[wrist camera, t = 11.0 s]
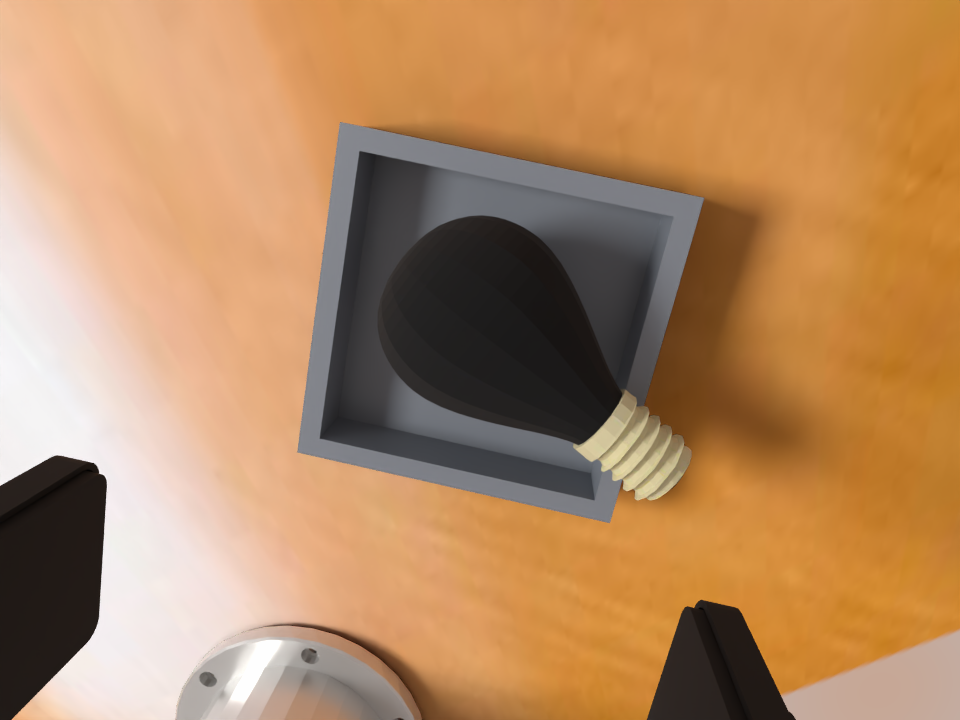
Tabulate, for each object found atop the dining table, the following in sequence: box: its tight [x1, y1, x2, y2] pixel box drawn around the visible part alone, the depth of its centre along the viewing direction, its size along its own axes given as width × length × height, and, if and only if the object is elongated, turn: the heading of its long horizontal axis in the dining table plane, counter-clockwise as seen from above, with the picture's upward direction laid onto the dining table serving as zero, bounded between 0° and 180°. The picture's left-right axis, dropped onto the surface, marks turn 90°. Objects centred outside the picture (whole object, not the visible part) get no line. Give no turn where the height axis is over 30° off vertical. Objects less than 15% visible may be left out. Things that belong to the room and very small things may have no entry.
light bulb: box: [377, 215, 692, 501], centre depth 23 cm, size 7×7×12 cm
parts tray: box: [298, 122, 704, 523], centre depth 26 cm, size 13×13×3 cm
